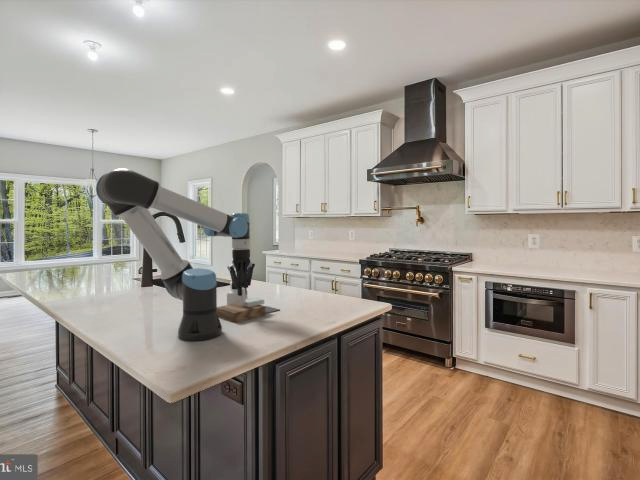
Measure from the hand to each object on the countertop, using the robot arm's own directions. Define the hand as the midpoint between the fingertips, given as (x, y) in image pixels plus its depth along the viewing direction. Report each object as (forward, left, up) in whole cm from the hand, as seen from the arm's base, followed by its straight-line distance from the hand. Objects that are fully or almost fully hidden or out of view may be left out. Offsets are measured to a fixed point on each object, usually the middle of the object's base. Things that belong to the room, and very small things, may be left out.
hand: (242, 302), depth 157 cm
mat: (+12, 0, -6) cm, 13 cm away
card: (+5, 0, -2) cm, 6 cm away
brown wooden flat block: (-1, 0, -6) cm, 6 cm away
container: (+7, +14, -6) cm, 16 cm away
